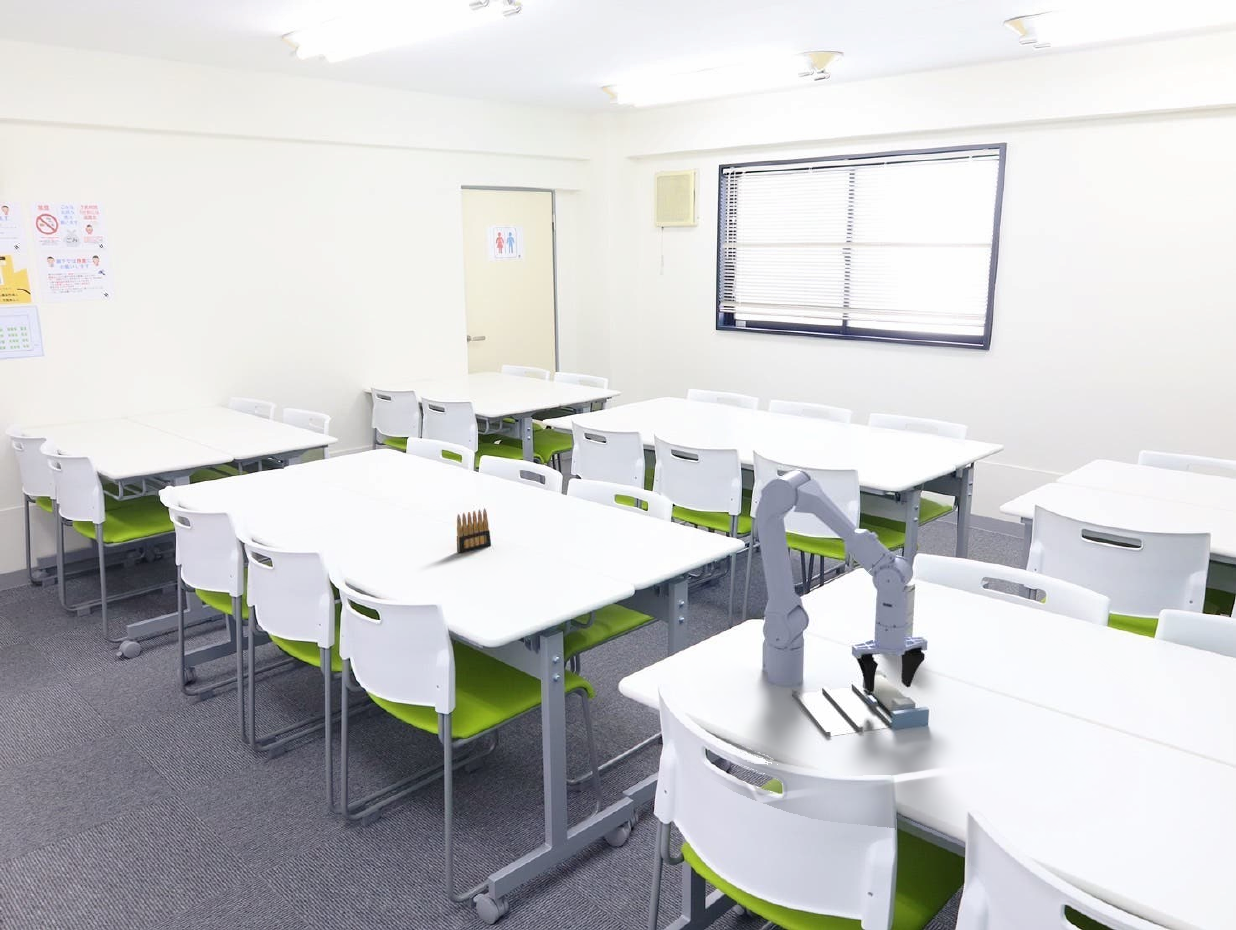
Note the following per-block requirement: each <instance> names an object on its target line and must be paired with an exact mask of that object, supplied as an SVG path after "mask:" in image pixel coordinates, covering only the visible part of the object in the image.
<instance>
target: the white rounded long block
mask: <svg viewBox="0 0 1236 930" xmlns="http://www.w3.org/2000/svg"><path fill="white" fill-rule="evenodd" d="M862 679H863V680H862V686H863V688H864V689H865V690H866V691H867V692H868V693H872V694H873V695H874V696H875V697H876V698H877V699H878V700H879V701H880V702H881V703H882V704H883V705H884V706H885V707H886V708H887V709H888V710H889V711H890V712H891V716H892V711H899V710H906V709H913V708H916V702H915V701H914V700H913V699H912V698H910V697H909V696H907V697H905V696H904V695H903V694H902V693H901V692H900V690H899V689H897V687H896V686H894V685H893V684H892V683H891V682H890V681H889V680H888V679H887V677H886V674H884V672H882V670H881V669H880V670H879V669H876V673H875V680H874V691H873V692H869V691H868V690H867V689H866V688H865V682H864V678H862Z"/></svg>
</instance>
